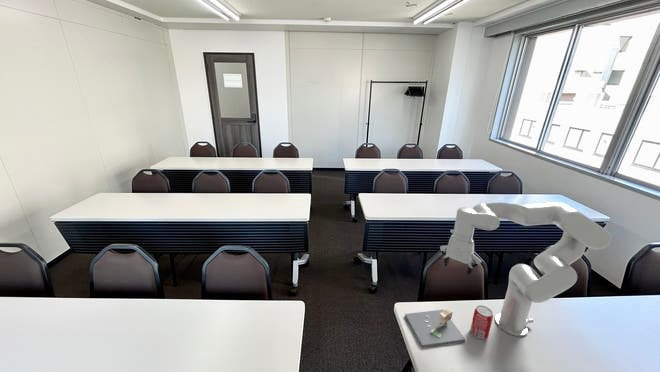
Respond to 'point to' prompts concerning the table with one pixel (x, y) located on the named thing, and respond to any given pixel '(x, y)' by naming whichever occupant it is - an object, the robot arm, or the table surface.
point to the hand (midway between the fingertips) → (457, 269)
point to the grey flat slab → (426, 323)
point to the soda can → (481, 322)
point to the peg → (444, 318)
